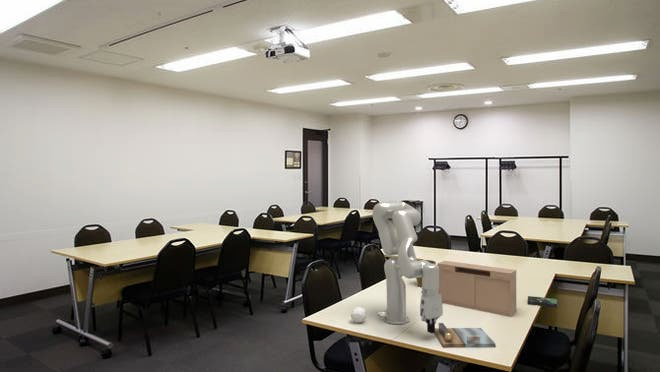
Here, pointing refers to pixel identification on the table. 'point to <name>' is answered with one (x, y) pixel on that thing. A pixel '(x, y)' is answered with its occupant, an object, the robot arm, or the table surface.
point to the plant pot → (421, 277)
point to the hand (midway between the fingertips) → (431, 332)
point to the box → (478, 287)
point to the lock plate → (466, 338)
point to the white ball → (358, 314)
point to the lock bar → (445, 332)
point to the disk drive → (542, 301)
